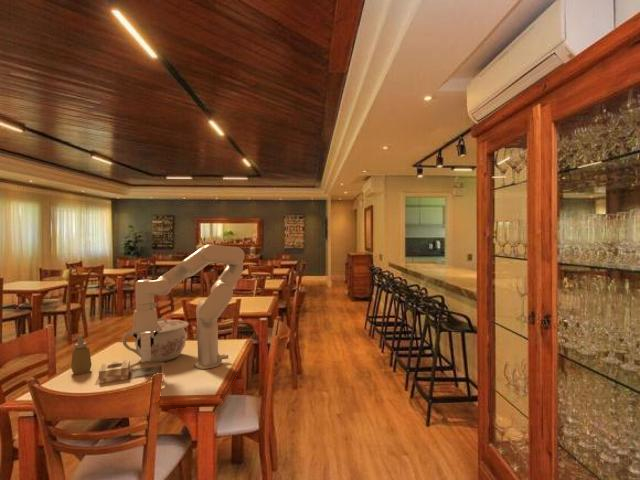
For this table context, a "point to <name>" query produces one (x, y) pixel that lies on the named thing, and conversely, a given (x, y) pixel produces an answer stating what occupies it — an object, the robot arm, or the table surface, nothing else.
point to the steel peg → (145, 347)
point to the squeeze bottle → (81, 358)
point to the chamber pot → (164, 340)
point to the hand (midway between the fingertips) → (145, 346)
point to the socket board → (123, 372)
